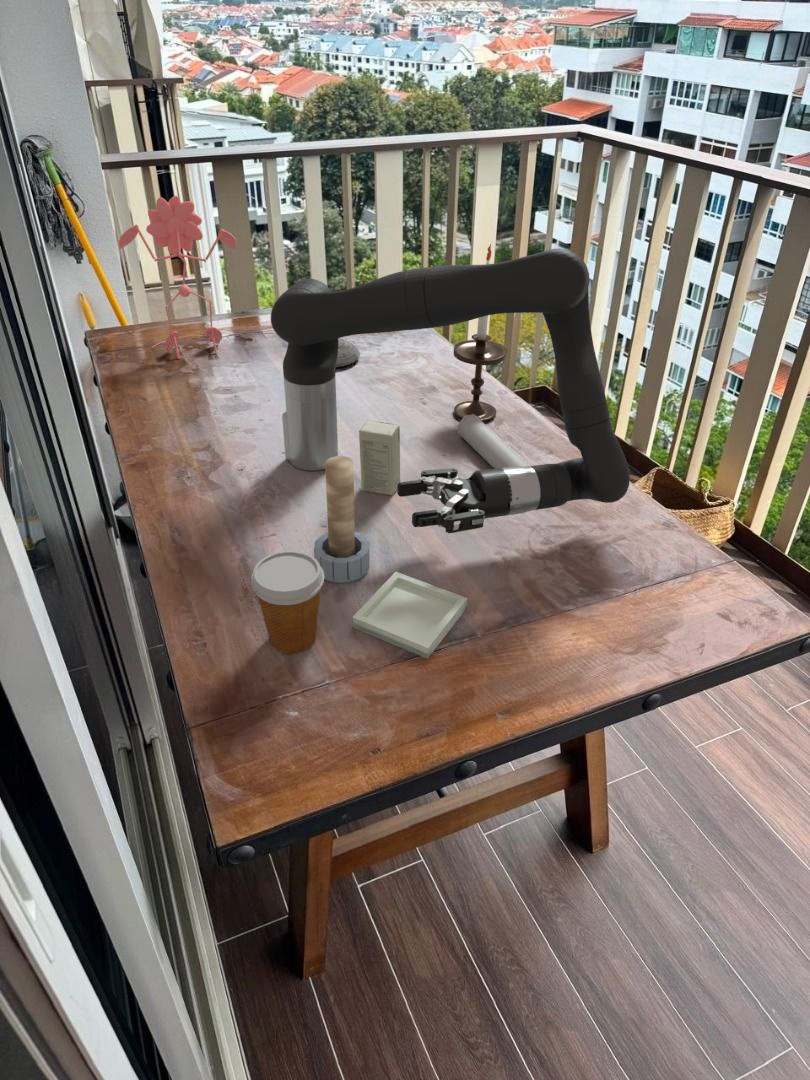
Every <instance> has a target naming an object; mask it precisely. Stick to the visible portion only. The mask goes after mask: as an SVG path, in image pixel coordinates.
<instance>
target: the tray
mask: <svg viewBox="0 0 810 1080" xmlns="http://www.w3.org/2000/svg"><path fill="white" fill-rule="evenodd" d="M467 605H468V598H467V597H465V596H462V595H460V594H457V593H454V592H452V591H448V590H446V589H443V588H441V587H439V586H435V585H432V584H430V583H428V582H425V581H423V580H420V579H417V578H415V577H411V576H409V575H406V574H404V573H401V572H398V571H395V572H394V573H393V574H391V576H389V578H388V579H387V580H386V581H385V582H384V583H383V585H382V586H380V587H379V589H377V591H376V592H374V594H373V595H372V596H371V597H370V598H369V599H368V600H367V601H366V602H365V604H363V605H362V607H360V609H359V610H358V611H357V612H356V613H355V614H354V615H353V616H352V629H355V630H358V631H360V632H362V633H363V634H364V633H365V634H367V635H369V636H372V637H374V638H377V639H379V640H382V641H384V642H386V643H389V644H391V645H393V646H395V647H398V648H401V649H403V650H405V651H407V652H410V653H413V654H414V655H417V656H420V657H422V658H424V659H429V658H430V656H431V655H432V654H433V653H434V651H435V650H436V649H437V647H438V646H439V645H440V644H441V642H442V641H443V640H444V638H445V637H446V635H448V633H449V632H450V631H451V629H452V628H453V626H455V624H456V623H457V621H458V620H459V619H460V618H461V616H462V615H463V613H464V612H465V611H466V610H467Z"/></svg>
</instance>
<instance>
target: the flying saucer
mask: <svg viewBox="0 0 810 1080" xmlns="http://www.w3.org/2000/svg"><path fill="white" fill-rule="evenodd" d="M360 357H361V352H360V350H359V349H358V347H357V346H356V345H354V344H353V342H351V341H348V340H347V339H344V338H342V337H341V338H338V357H337V361H336V366H335V368H340V367H342V368H343V367H345V366H348V365H351V364H353V363H355V362H356V361H358V360H359V359H360Z"/></svg>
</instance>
